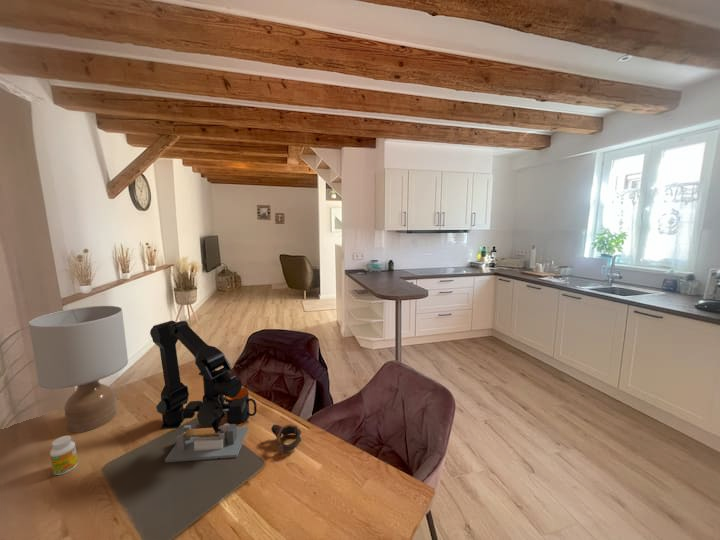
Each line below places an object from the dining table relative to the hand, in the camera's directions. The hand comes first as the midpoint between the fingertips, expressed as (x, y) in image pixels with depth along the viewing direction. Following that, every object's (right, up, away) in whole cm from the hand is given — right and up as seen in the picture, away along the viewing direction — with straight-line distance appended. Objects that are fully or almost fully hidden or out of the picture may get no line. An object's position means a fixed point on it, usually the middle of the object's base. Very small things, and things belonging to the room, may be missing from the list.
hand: (216, 430), depth 98 cm
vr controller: (+24, -6, +2) cm, 24 cm away
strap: (-4, -1, 0) cm, 4 cm away
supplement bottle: (-42, -6, -10) cm, 43 cm away
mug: (+3, -3, +14) cm, 15 cm away
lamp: (-53, -3, +12) cm, 55 cm away
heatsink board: (-3, -5, 0) cm, 6 cm away
